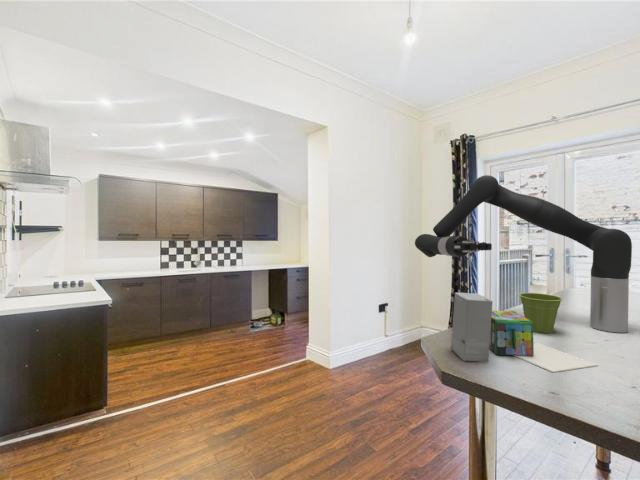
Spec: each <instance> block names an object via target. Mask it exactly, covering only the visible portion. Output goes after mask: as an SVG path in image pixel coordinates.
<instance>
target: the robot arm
mask: <svg viewBox="0 0 640 480" xmlns="http://www.w3.org/2000/svg"><path fill="white" fill-rule="evenodd" d="M482 203H485V204H489V205H492V206H495V207H498V208H500V209H502V210H505V211H506V212H507V211H508V212H509V213H511V214H512V215H514V216H516V217H518V218H520V219H521V220H524V221H526V222H528V223H529V224H531V225H534V226H537V227H539V228H541V229H543V230H546V231H548V232H552V233H555V234H557V235H561V236H563V237H566V238H569V239H571V240H573V241H574V242H577V243H579V244H581V245H582V246H583V247H586V248H588V249H589V250H591V251H592V265H591V268H590V308H589V309H590V313H589V314H590V315H589V316H590V317H589V318H590V319H589V320H590V322H589V323H590V326H589V327H591V328H592V329H596V330H599V331H603V332H604V331H605V332H609V333H622V334H623V333H624V334H625V333H628V332H629V291H630V290H629V286H630V285H629V284H630V279H629V277H630V272H631V267H632V258H633V257H632V253H633V249H632V248H633V246H632V245H633V244H632V239H631V237H630V236H629V234H628V233H627V232H626V231H623V230H621V229H618V228H607V227H603V226H600V225H598V224H594V223H592V222H588V221H586V220H584V219H582V218H580V217H578V216H576V215H575V214H574V213H571V212H570V211H568V210H566V209H565V208H563V207H561V206H560V205H557V204H555V203H552V202H551V201H548V200H545V199H543V198H540V197H536V196H531V195H528V194H523V193H522V194H521V193H518V192H515V191H512V190H510V189H508V188H506V187H504V186H502V185H501V184H499V181H498V179H497V178H496V177H494V176H492V175H489V174H488V175H481V176H479V177H478V178H476V180H475V181H474V182H473V184H472V185H471V186H470V187H469V189H468V190H467V192H466V193H465V195H464V196H463V197H462V198H461V199H460V200H459V201H458V202H457V204H456V205H455V206H454V207H453V208H452V209H451V210H449V212H447V213H446V214H445V215H444V217H442V218H441V220H440V221H438V222H437V223H436V224H435V225H434V227H433V228H432V231H433V233H434V234H435V235H432V234H430V233H423V234H420V235H418V236H417V237H416V239H414V240H415V241H414V246H415V247H416V249H417V250H419V251H420V252H421V253H422V254H424V255H425V256H426V257H428V258H433V257H436V256H437V255H441V256H442V255H443V256H446V257H447V256H448V257H458V258H459V257H460V258H461V257H465V256H467V255H468V253H473V252H480V251H481V252H483V251H492V248H493V247H492V243H489V242H488V243H487V242H485V241H482V242H480V241H479V240H478V241H474V240H469V239H468V238H467V237H466V236H464V235H452V234H454V233H455V231H456V230H458V229H459V228H460V227H461V225H462V224H463V223H464V222H465V221H466V220H467V218H468V217H469V215H471V213H472V212H473V211H474V210H475V209H476V208H477V207H479V206H480V205H481V204H482Z"/></svg>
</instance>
